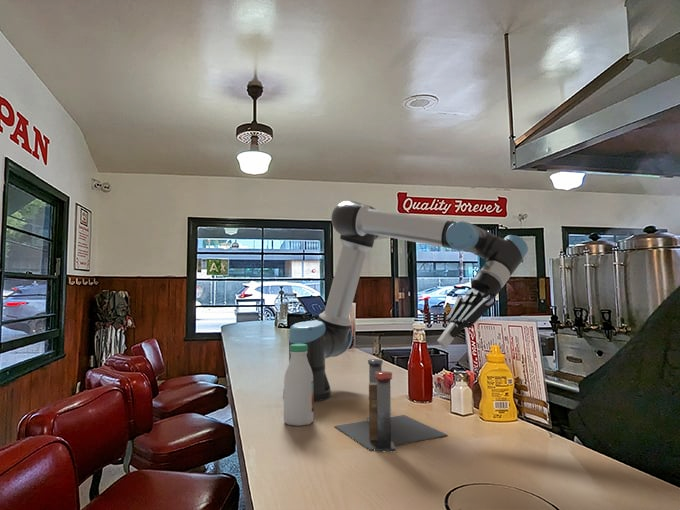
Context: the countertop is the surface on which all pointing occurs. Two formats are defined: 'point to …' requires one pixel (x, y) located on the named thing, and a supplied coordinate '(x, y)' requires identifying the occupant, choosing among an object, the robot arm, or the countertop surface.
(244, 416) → the countertop surface
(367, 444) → the bar mat
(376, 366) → the hinge post
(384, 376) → the post
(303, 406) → the milk bottle
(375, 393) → the gate
